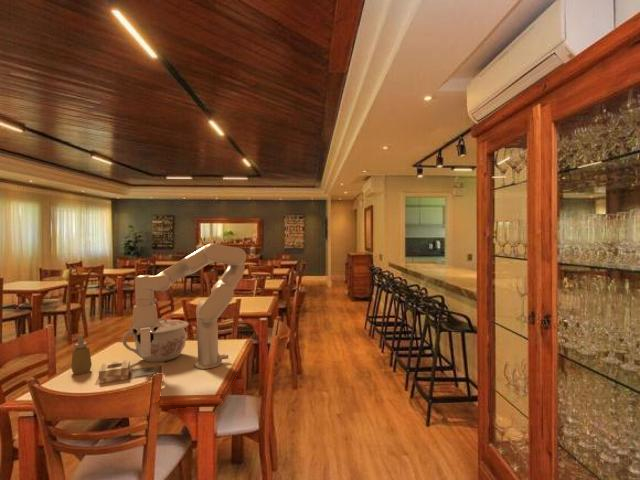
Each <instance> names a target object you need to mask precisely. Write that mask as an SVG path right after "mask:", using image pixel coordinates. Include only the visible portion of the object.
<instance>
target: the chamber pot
mask: <svg viewBox="0 0 640 480" xmlns="http://www.w3.org/2000/svg"><path fill="white" fill-rule="evenodd" d="M157 319H158V320H159V321H160V323H161V324H162V326H161V327H160V328H158V329H157V330H156V331H155V332H154V340H152V342H151V356H149V357H141V343H140V344H139V342H138V341H137V334H136V333H134V332H133V331H131V330H128V331H127V332H125V333H124V334H123V336H122V341H121V343H122V345H123V346H124V347H125V348H126V349H127V350H128V351H131V352H133V353H134V354H136V355H137V356H138V357H140V358H141V359H142V360H143V361H145V362H148V363H149V362H150V363H157V362H158V363H159V362H163V363H164V362H168V361H171V360H174V359H176V358H177V357H179V356H180V355H181V353H182V351H183V350H184V349H185V347H186V341H187V331H186V330H185V328H187V327H188V326H189V325H190V324H189V322H188V321H185V320H180V319H167V318H163V317H160V318H157ZM157 325H158V324H157ZM157 325H156V326H157ZM156 326H154V327H153V328H155V327H156ZM147 328H150V327H147ZM135 329H136V330H137V329H138V328H135ZM141 329H145V328H141ZM141 329H140V330H141ZM150 333H151V329H150ZM130 336H133V340H134V341H133V342H134V345H135V348H133V347H131V346H130V345H128V343H127V337H130Z"/></svg>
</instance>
